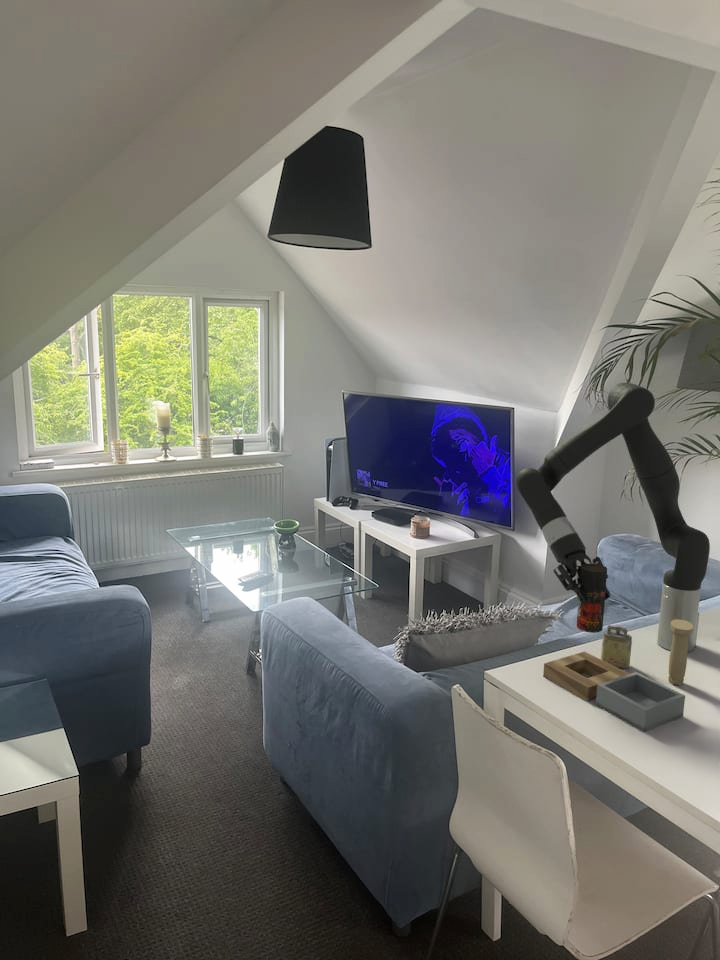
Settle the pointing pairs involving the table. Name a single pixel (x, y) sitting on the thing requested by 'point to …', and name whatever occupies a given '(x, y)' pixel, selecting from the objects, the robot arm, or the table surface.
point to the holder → (572, 666)
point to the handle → (679, 650)
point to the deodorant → (592, 598)
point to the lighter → (616, 647)
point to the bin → (640, 701)
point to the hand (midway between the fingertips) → (597, 600)
